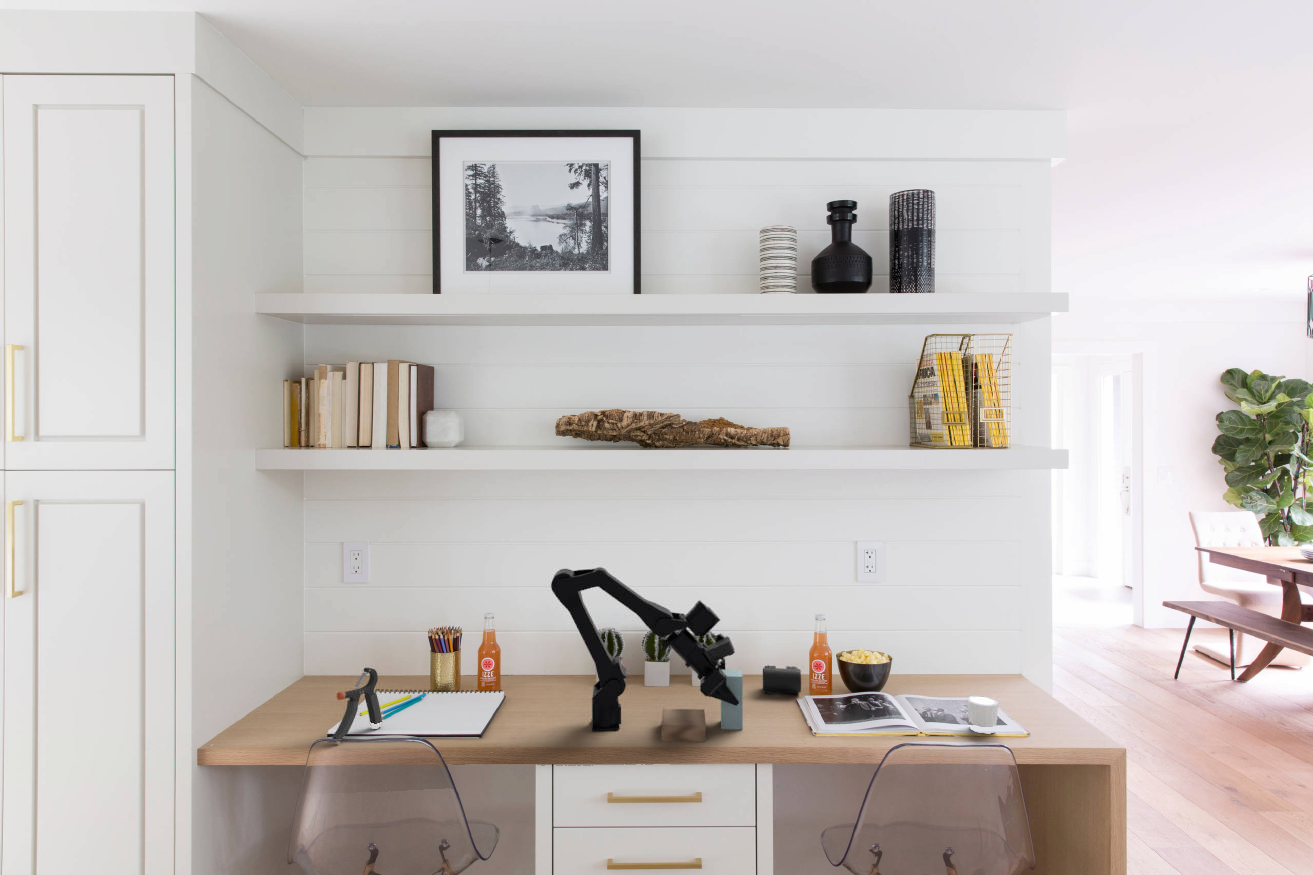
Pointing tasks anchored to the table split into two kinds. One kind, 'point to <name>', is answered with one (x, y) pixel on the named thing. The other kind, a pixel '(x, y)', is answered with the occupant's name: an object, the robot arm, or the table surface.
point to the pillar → (730, 712)
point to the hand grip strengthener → (354, 699)
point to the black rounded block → (781, 680)
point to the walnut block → (683, 725)
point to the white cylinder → (982, 711)
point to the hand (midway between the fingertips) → (737, 697)
